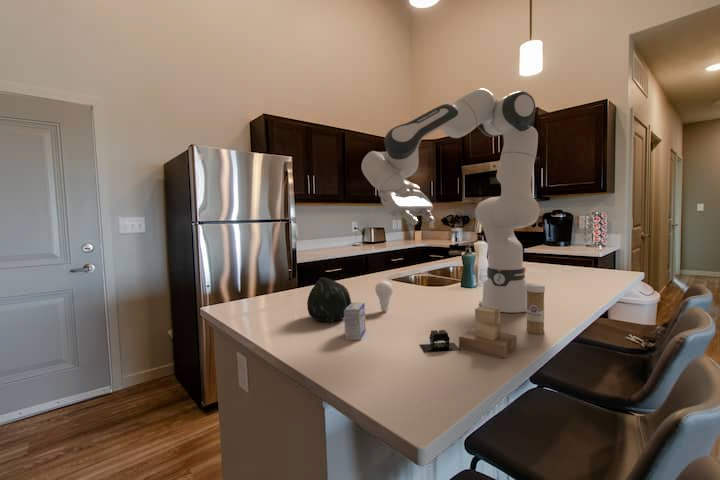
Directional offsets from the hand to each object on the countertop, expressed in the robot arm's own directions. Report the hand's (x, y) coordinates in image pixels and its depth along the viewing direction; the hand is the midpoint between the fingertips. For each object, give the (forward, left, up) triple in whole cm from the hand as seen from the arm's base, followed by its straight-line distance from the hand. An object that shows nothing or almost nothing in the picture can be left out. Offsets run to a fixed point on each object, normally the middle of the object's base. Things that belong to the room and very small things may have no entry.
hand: (424, 222), depth 102 cm
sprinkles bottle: (-14, +26, -32) cm, 43 cm away
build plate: (+12, +11, -32) cm, 36 cm away
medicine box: (+18, -13, -32) cm, 38 cm away
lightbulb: (-6, -21, -32) cm, 38 cm away
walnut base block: (+5, +20, -31) cm, 38 cm away
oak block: (+5, +20, -28) cm, 35 cm away
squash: (+11, -31, -32) cm, 45 cm away
